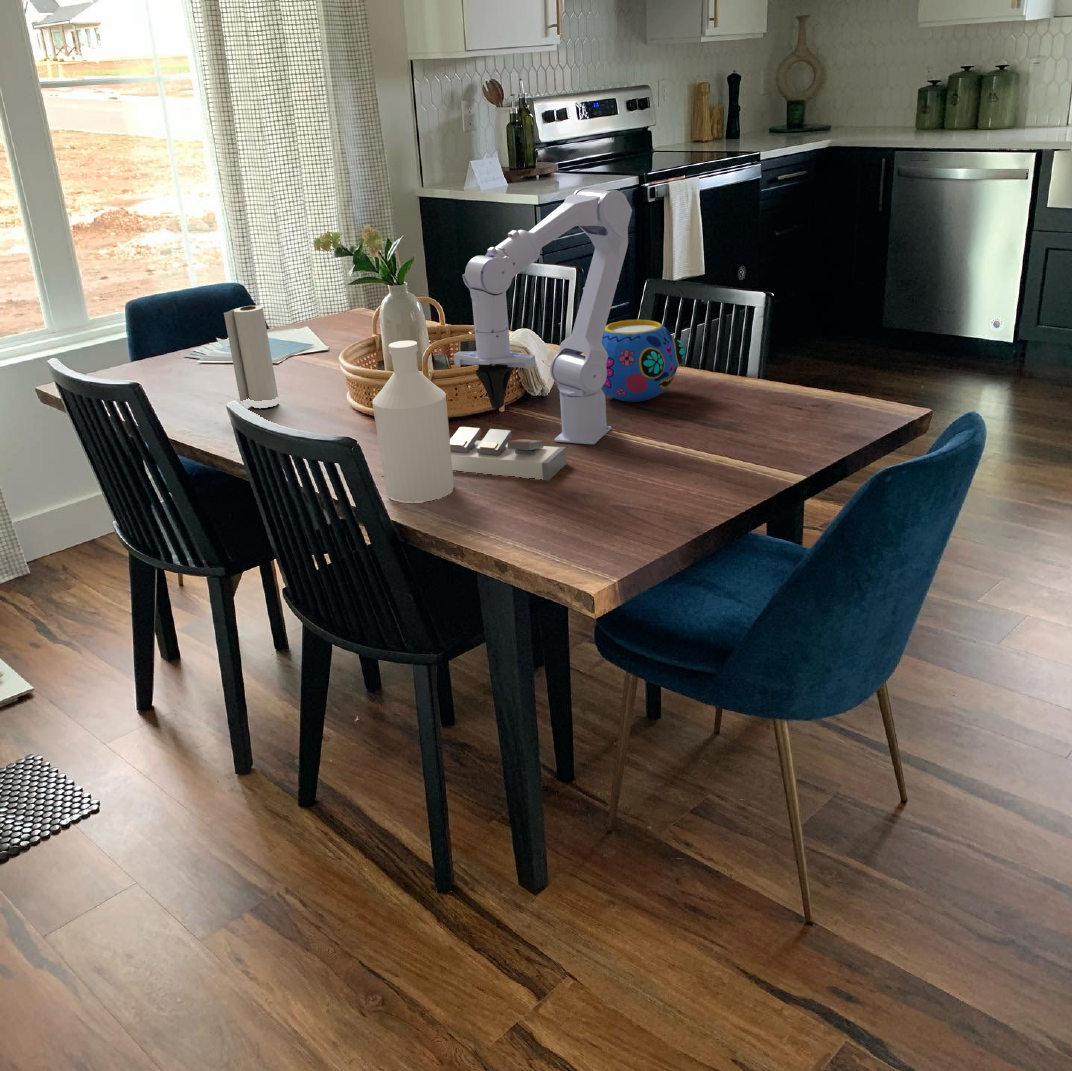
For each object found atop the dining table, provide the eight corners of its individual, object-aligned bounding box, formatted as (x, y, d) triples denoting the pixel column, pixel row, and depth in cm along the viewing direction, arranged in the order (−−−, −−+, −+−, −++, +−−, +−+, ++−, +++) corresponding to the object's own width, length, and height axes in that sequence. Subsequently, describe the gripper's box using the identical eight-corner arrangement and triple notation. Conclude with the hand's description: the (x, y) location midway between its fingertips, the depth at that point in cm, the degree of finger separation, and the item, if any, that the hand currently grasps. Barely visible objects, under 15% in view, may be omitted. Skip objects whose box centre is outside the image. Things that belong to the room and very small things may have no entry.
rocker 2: (491, 434, 189) (490, 427, 188) (512, 436, 187) (510, 429, 186) (477, 453, 185) (476, 447, 184) (498, 455, 183) (497, 448, 182)
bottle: (370, 493, 179) (350, 347, 169) (425, 473, 187) (408, 331, 177) (414, 510, 171) (396, 357, 161) (470, 487, 179) (455, 340, 169)
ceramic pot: (650, 416, 207) (648, 340, 201) (575, 404, 217) (571, 331, 211) (695, 392, 220) (694, 319, 213) (622, 382, 230) (619, 313, 224)
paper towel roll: (283, 401, 234) (266, 303, 225) (274, 409, 229) (257, 310, 220) (251, 402, 235) (233, 305, 226) (241, 410, 229) (223, 311, 221)
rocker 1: (461, 432, 191) (459, 425, 190) (481, 433, 189) (479, 427, 189) (447, 451, 187) (445, 444, 186) (467, 453, 185) (465, 446, 184)
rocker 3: (522, 446, 187) (522, 438, 186) (543, 447, 185) (543, 439, 185) (507, 448, 181) (507, 440, 181) (529, 450, 180) (529, 442, 179)
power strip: (421, 450, 198) (418, 432, 196) (566, 463, 186) (565, 444, 185) (398, 466, 191) (396, 447, 189) (548, 480, 179) (547, 460, 178)
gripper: (442, 333, 179) (450, 410, 185) (520, 336, 174) (526, 416, 179) (461, 323, 185) (468, 399, 191) (538, 326, 180) (543, 404, 185)
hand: (498, 406), depth 185 cm, fingers closed
